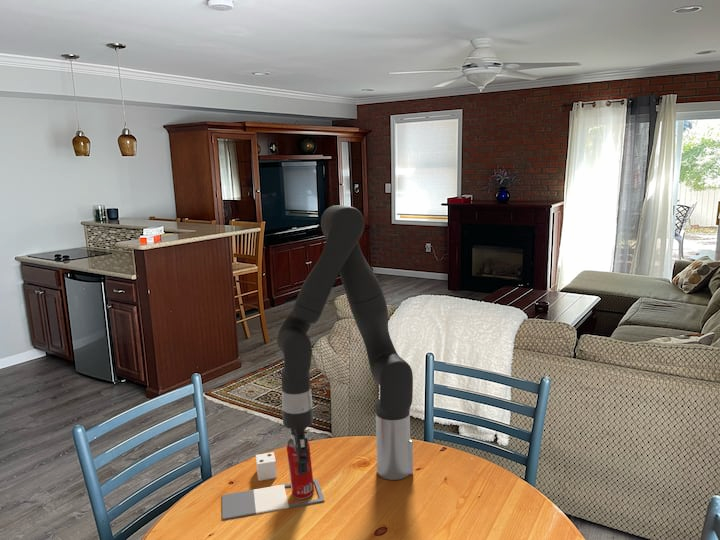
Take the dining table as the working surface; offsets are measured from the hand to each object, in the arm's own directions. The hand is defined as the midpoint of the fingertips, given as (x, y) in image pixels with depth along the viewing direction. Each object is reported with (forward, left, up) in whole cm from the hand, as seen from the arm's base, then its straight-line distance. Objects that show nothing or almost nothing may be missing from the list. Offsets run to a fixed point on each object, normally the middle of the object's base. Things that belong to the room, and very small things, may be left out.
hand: (300, 465), depth 136 cm
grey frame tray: (+8, 0, -8) cm, 11 cm away
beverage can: (0, 0, -8) cm, 8 cm away
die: (+8, -12, -8) cm, 17 cm away
